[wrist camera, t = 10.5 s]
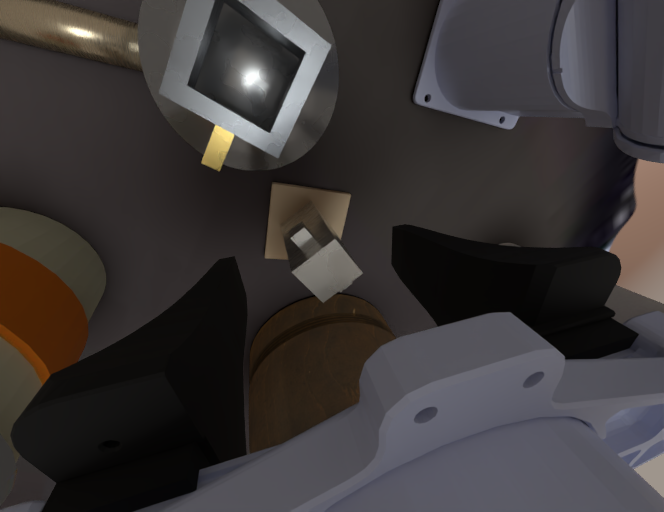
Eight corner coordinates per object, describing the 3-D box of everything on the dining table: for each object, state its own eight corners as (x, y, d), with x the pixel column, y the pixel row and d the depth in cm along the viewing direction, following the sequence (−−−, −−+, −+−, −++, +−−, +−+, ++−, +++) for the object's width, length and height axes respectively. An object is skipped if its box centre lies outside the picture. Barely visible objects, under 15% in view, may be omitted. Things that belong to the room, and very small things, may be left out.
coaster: (348, 192, 22) (351, 194, 21) (333, 259, 24) (335, 262, 24) (272, 181, 20) (272, 183, 19) (264, 254, 22) (264, 258, 22)
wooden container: (291, 412, 33) (342, 812, 14) (218, 338, 25) (121, 1012, 6) (399, 356, 33) (589, 677, 14) (361, 266, 25) (667, 712, 7)
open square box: (322, 52, 15) (331, 45, 13) (259, 187, 17) (260, 196, 15) (211, -35, 12) (204, -59, 10) (156, 137, 14) (143, 142, 13)
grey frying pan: (343, 2, 16) (357, -14, 14) (314, 174, 20) (321, 181, 18) (-80, -158, 10) (-164, -226, 8) (3, 124, 15) (-40, 126, 13)
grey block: (340, 238, 23) (371, 284, 17) (312, 259, 23) (332, 312, 17) (302, 189, 20) (323, 224, 14) (270, 214, 20) (278, 259, 14)
